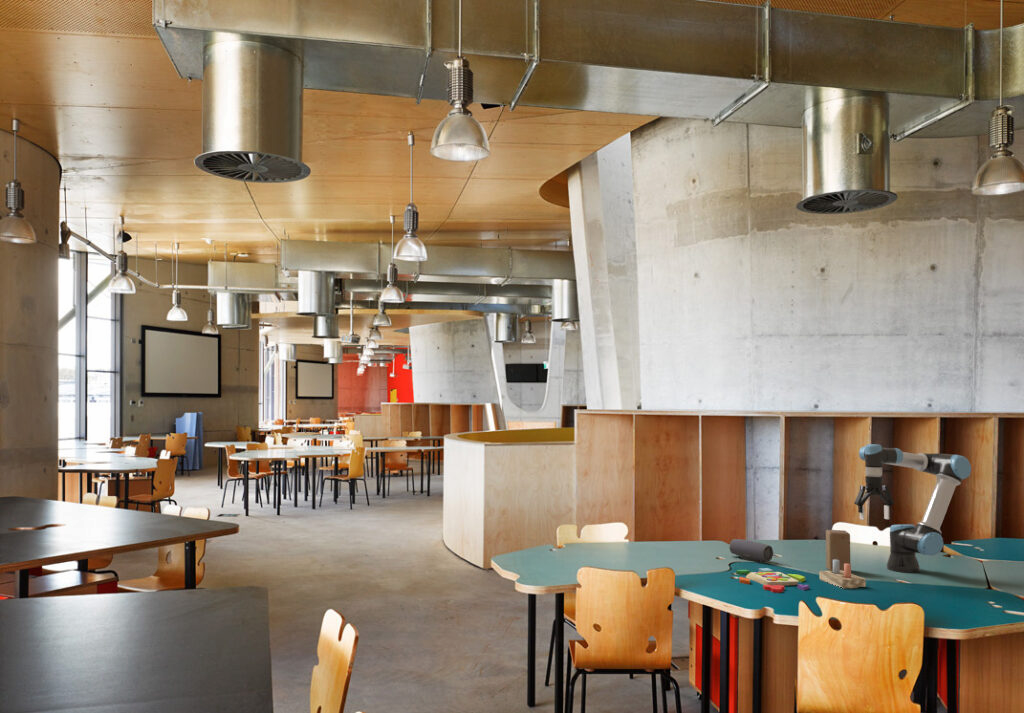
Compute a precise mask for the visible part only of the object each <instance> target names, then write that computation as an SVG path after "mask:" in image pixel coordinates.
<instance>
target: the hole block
mask: <svg viewBox="0 0 1024 713" xmlns="http://www.w3.org/2000/svg"><path fill="white" fill-rule="evenodd" d="M818 577H819V580H820V581H823V582H825V583H827V582H828V583H827V584H829V585H832V584H833V586H835V585H836V586H835V587H837V586H839V587H838V588H840V587H842V588H843V589H859V588H858V587H866V581H867V580H866V578H864V577H861V576H858V575H855V574H853V573H851V578H844V571H842V570H840V574H833V571H829V570H820V571H819V576H818ZM842 588H841V589H842Z"/></svg>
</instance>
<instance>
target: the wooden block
mask: <svg viewBox="0 0 1024 713" xmlns="http://www.w3.org/2000/svg"><path fill="white" fill-rule="evenodd" d="M833 560H839V567H840V570H842V571H844V564H851V534H850V533H849V532H848V531H847V530H844V529H843V530H842V529H841V530H840V529H839V530H838V529H836V530H835V529H826V530H825V564H826V565H825V566H826V569H827V571H833Z"/></svg>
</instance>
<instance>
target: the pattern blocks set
mask: <svg viewBox="0 0 1024 713" xmlns="http://www.w3.org/2000/svg"><path fill="white" fill-rule="evenodd" d="M735 574H736V575H741V576H739V578H738V579H739V583H740V584H744V585H751V581H754V582H756V583H759V584H761V585H763V586H762V589H763V590H764V591H769V592H772V593H775V594H779V593H783V592H784V591H785V587H786V586H787V587H788V586H797V587H796V588H797V589H799V590H801V591H806V590H809V589H810V585H809V584H799V583H803V582H806V577H805V576H803V575H800V574H794V573H793V574H792V573H786V574H785V573H783V572H781V571H774V570H773V569H771V568H769V567H765V568H763V567H761V568H760V567H759V568H758V571H757V572H756V571H754V572H753V571H751V570H749V569H738V570H736V571H735ZM742 575H743V576H744V575H746V576H745V577H743V576H742Z"/></svg>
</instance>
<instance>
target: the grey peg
mask: <svg viewBox="0 0 1024 713" xmlns="http://www.w3.org/2000/svg"><path fill="white" fill-rule="evenodd" d="M833 574H840V567H839V560H833Z"/></svg>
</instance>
